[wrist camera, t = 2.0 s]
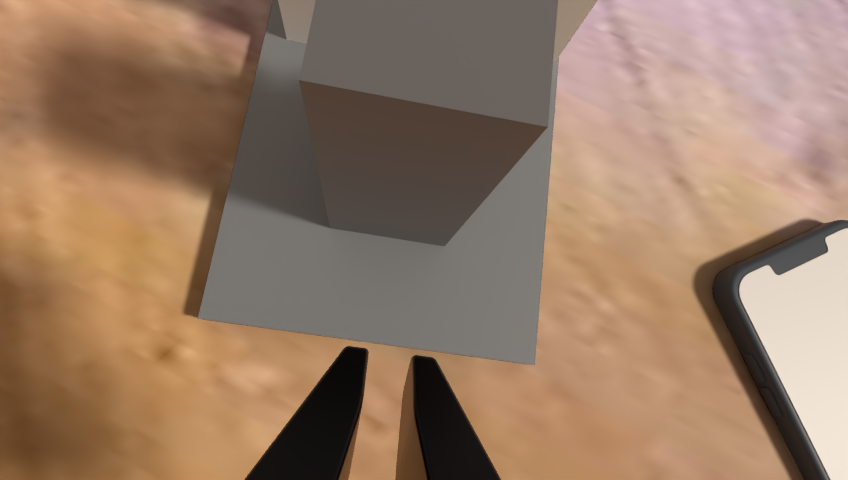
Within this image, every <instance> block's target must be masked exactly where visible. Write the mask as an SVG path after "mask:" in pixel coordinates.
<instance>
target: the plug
mask: <svg viewBox="0 0 848 480" xmlns="http://www.w3.org/2000/svg"><path fill="white" fill-rule="evenodd" d="M557 8H558V0H316V2H315V7H314V11H313V16H312V21H311V25H310V30H309V35H308V40H307V44H306V49H305V54H304V58H303V63H302V68H301V72H300V77H299V83H300V88H301V92H302V97H303V102H304V107H305V111H306V116H307V121H308V125H309V130H310V135H311V140H312V144H313V149H314V154H315V158H316V163H317V168H318V173H319V177H320V182H321V187H322V191H323V196H324V201H325V206H326V210H327V215H328V220H329V224H330V228H334V229H340V230H346V231H353V232H359V233H365V234H371V235H378V236H384V237H390V238H396V239H403V240H409V241H415V242H421V243H428V244H434V245H440V246H445V245H446V244H447V243H448V242H449V241H450V240H451V239H452V237H453V236H454V235H455V234H456V233H457V232H458V230H459V229H460V228H461V227H462V226H463V225H464V223H465V222H466V221H467V220H468V219H469V218H470V217H471V215H472V214H473V213H474V212H475V211H476V210H477V208H478V207H479V206H480V205H481V204H482V203H483V201H484V200H485V199H486V198H487V197H488V196H489V195H490V193H491V192H492V191H493V190H494V189H495V188H496V186H497V185H498V184H499V183H500V182H501V181H502V179H503V178H504V177H505V176H506V175H507V174H508V173H509V171H510V170H511V169H512V168H513V167H514V166H515V164H516V163H517V162H518V161H519V160H520V159H521V158H522V156H523V155H524V154H525V153H526V152H527V151H528V149H529V148H530V147H531V146H532V145H533V144H534V142H535V141H536V140H537V139H538V138H539V137H540V136H541V134H542V133H543V132H544V131H545V130H546V129H547V127H548V119H549V106H550V94H551V82H552V69H553V57H554V45H555V32H556V20H557Z"/></svg>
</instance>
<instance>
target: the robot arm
mask: <svg viewBox="0 0 848 480" xmlns="http://www.w3.org/2000/svg"><path fill="white" fill-rule="evenodd" d="M367 362H368V350H367V349H365V348H359V347H351V346H347V347H345V348H344V349H343V350H342V352H341V353H340V354H339V356H338V357H337V358H336V360H335V361H334V362H333V364H332V365H331V366H330V368H329V369H328V370H327V371H326V373H325V374H324V375H323V377H322V378H321V379H320V381H319V382H318V383H317V385H316V386H315V387H314V389H313V390H312V391H311V393H310V394H309V395H308V397H307V398H306V399H305V400H304V402H303V403H302V404H301V406H300V407H299V408H298V410H297V411H296V412H295V414H294V415H293V416H292V418H291V419H290V420H289V422H288V423H287V424H286V426H285V427H284V428H283V429H282V431H281V432H280V433H279V435H278V436H277V437H276V439H275V440H274V441H273V443H272V444H271V445H270V447H269V448H268V449H267V451H266V452H265V453H264V454H263V456H262V457H261V458H260V460H259V461H258V462H257V464H256V465H255V466H254V468H253V469H252V470H251V472H250V473H249V474H248V476H247V477H246V478H245V480H348V478H349V474H350V468H351V463H352V457H353V452H354V446H355V441H356V436H357V430H358V425H359V419H360V414H361V408H362V403H363V396H364V388H365V379H366V371H367ZM396 480H501V479H500V477H499V475H498V473H497V471H496V470H495V468H494V466H493V464H492V462H491V460H490V458H489V457H488V455H487V453H486V451H485V449H484V447H483V446H482V444H481V442H480V440H479V438H478V436H477V435H476V433H475V431H474V429H473V427H472V425H471V424H470V422H469V420H468V418H467V416H466V414H465V413H464V411H463V409H462V407H461V405H460V403H459V401H458V400H457V398H456V396H455V394H454V392H453V390H452V389H451V387H450V385H449V383H448V381H447V379H446V378H445V376H444V374H443V372H442V370H441V368H440V367H439V365H438V363H437V361H436V360H435V359H434V358H432V357H425V356H418V355H415V356H413V357H412V358H411V361H410V365H409V369H408V373H407V377H406V382H405V386H404V391H403V398H402V409H401V420H400V431H399V443H398V454H397V465H396Z"/></svg>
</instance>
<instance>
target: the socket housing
mask: <svg viewBox="0 0 848 480" xmlns="http://www.w3.org/2000/svg"><path fill="white" fill-rule="evenodd" d="M315 2H316V0H273V3H272V7H271V11H270V16H269V20H268V24H267V28H266V32H265V37H264V41H263V45H262V49H261V54H260V58H259V62H258V66H257V70H256V75H255V79H254V83H253V87H252V92H251V96H250V100H249V104H248V108H247V113H246V117H245V121H244V125H243V130H242V134H241V138H240V142H239V146H238V151H237V155H236V159H235V163H234V168H233V172H232V176H231V180H230V184H229V189H228V193H227V197H226V201H225V206H224V210H223V214H222V218H221V222H220V227H219V231H218V235H217V239H216V244H215V248H214V252H213V256H212V260H211V265H210V269H209V273H208V277H207V282H206V286H205V290H204V294H203V298H202V303H201V307H200V311H199V315H198V319H203V320H210V321H218V322H225V323H232V324H239V325H247V326H254V327H261V328H268V329H275V330H283V331H290V332H297V333H304V334H312V335H319V336H326V337H333V338H341V339H348V340H355V341H362V342H369V343H377V344H384V345H391V346H398V347H406V348H413V349H420V350H427V351H435V352H442V353H449V354H456V355H464V356H471V357H478V358H485V359H492V360H500V361H507V362H514V363H521V364H529V365H535V355H536V343H537V330H538V317H539V304H540V291H541V279H542V266H543V253H544V240H545V228H546V215H547V202H548V189H549V176H550V164H551V151H552V138H553V125H554V113H555V100H556V87H557V74H558V62H559V55H560V54H561V52H562V51H563V50H564V48H565V47H566V45H567V44H568V42H569V41H570V39H571V38H572V37H573V35H574V34H575V32H576V31H577V29H578V28H579V26H580V25H581V24H582V22H583V21H584V19H585V18H586V16H587V15H588V13H589V12H590V11H591V9H592V8H593V6H594V5H595V3H596V2H597V0H558V8H557V20H556V32H555V45H554V57H553V69H552V82H551V94H550V106H549V119H548V127H547V129H546V130H545V131H544V132H543V133H542V134H541V136H540V137H539V138H538V139H537V140H536V141H535V142H534V144H533V145H532V146H531V147H530V148H529V149H528V151H527V152H526V153H525V154H524V155H523V156H522V158H521V159H520V160H519V161H518V162H517V163H516V164H515V166H514V167H513V168H512V169H511V170H510V171H509V173H508V174H507V175H506V176H505V177H504V178H503V179H502V181H501V182H500V183H499V184H498V185H497V186H496V188H495V189H494V190H493V191H492V192H491V193H490V195H489V196H488V197H487V198H486V199H485V200H484V201H483V203H482V204H481V205H480V206H479V207H478V208H477V210H476V211H475V212H474V213H473V214H472V215H471V217H470V218H469V219H468V220H467V221H466V222H465V223H464V225H463V226H462V227H461V228H460V229H459V230H458V232H457V233H456V234H455V235H454V236H453V237H452V239H451V240H450V241H449V242H448V243H447V244H446V245H445V246H440V245H434V244H428V243H421V242H415V241H409V240H403V239H396V238H390V237H384V236H378V235H371V234H365V233H359V232H353V231H346V230H340V229H334V228H330V224H329V220H328V215H327V210H326V206H325V201H324V196H323V191H322V187H321V182H320V177H319V173H318V168H317V163H316V158H315V154H314V149H313V144H312V140H311V135H310V130H309V125H308V121H307V116H306V111H305V107H304V102H303V97H302V92H301V88H300V83H299V77H300V72H301V68H302V63H303V58H304V54H305V49H306V44H307V40H308V35H309V30H310V25H311V21H312V16H313V11H314V7H315Z"/></svg>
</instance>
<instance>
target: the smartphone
mask: <svg viewBox="0 0 848 480" xmlns="http://www.w3.org/2000/svg"><path fill="white" fill-rule="evenodd" d="M713 295H714V299H715V302H716V304H717V306H718V308H719V310H720V312H721V314H722V316H723V318H724V320H725V322H726V324H727V326H728V329H729V331H730V333H731V335H732V337H733V339H734V341H735V343H736V345H737V347H738V349H739V351H740V353H741V355H742V357H743V358H744V360H745V362H746V364H747V366H748V368H749V370H750V372H751V374H752V376H753V378H754V380H755V382H756V384H757V386H758V388H759V390H760V392H761V394H762V396H763V398H764V400H765V402H766V404H767V406H768V408H769V410H770V412H771V414H772V416H773V418H774V420H775V422H776V424H777V426H778V428H779V430H780V432H781V434H782V436H783V438H784V440H785V442H786V444H787V446H788V448H789V450H790V452H791V454H792V456H793V458H794V460H795V462H796V464H797V466H798V468H799V470H800V472H801V474H802V476H803V477H804V479H805V480H848V221H847V220H837V221H833V222H829V223H825V224H821V225H818V226H816V227H814V228H812V229H810V230H807V231H805V232H803V233H801V234H799V235H797V236H794V237H792V238H790V239H788V240H786V241H784V242H781V243H779V244H777V245H775V246H773V247H771V248H768V249H766V250H764V251H762V252H760V253H758V254H755V255H753V256H751V257H749V258H747V259H744V260H742V261H740V262H738V263H736V264H734V265H731V266H729V267H727V268H725V269H723V270H722V271H721V272H720V273H719V274H718V275H717V276H716V278H715V281H714V284H713Z"/></svg>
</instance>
